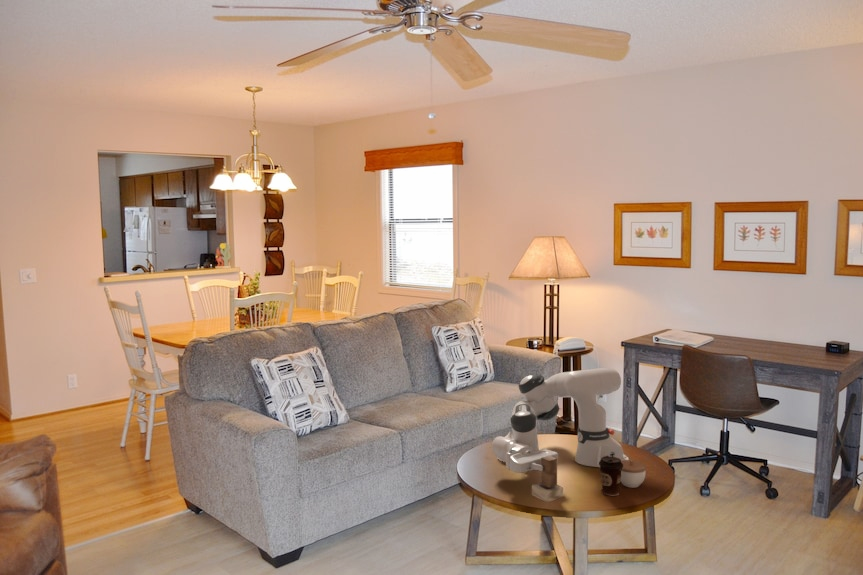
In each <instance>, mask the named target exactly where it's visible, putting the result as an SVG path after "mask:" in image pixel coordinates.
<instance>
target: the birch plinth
mask: <svg viewBox="0 0 863 575" xmlns="http://www.w3.org/2000/svg"><path fill="white" fill-rule="evenodd" d="M531 496H533V497H535V498H537V499H539V500H541V501H543V502H545V503H549V502H553V501H555V500H558V499H562V498H564V487H562V486H561V485H559V484H557V485H556V486H553V487H546V486H544V485H542V484H541V482H538V483H535V484H532V485H531Z"/></svg>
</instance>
